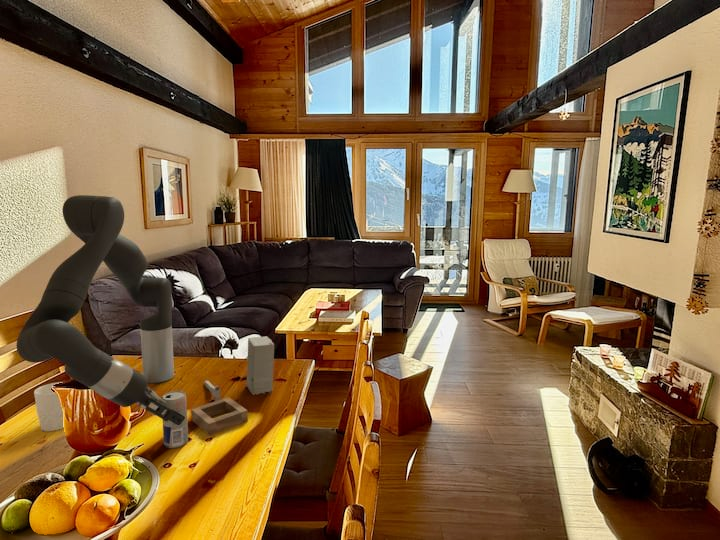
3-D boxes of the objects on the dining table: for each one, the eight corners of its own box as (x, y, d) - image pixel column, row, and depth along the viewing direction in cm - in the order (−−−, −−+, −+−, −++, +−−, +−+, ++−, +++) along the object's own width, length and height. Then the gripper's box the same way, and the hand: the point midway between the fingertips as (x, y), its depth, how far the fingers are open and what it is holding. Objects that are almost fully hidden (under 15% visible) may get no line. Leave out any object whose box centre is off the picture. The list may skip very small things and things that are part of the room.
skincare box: (246, 385, 134) (244, 337, 132) (268, 381, 137) (267, 334, 135) (252, 396, 127) (251, 345, 124) (275, 392, 130) (275, 342, 128)
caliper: (221, 409, 119) (220, 388, 118) (217, 410, 118) (216, 389, 117) (207, 383, 136) (206, 364, 135) (204, 383, 136) (203, 365, 135)
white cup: (30, 429, 106) (26, 391, 105) (61, 415, 114) (58, 379, 112) (51, 435, 104) (48, 397, 102) (82, 420, 111) (79, 384, 110)
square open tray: (191, 419, 112) (191, 409, 112) (228, 407, 120) (228, 397, 119) (209, 435, 105) (209, 424, 104) (247, 420, 112) (247, 410, 112)
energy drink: (168, 437, 104) (166, 390, 102) (191, 436, 104) (189, 390, 103) (160, 449, 99) (157, 400, 97) (184, 448, 99) (181, 400, 97)
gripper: (141, 376, 87) (198, 410, 97) (120, 358, 97) (174, 391, 107) (114, 408, 84) (175, 441, 94) (96, 386, 94) (153, 417, 104)
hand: (174, 414), depth 100 cm, fingers open, 8 cm apart
